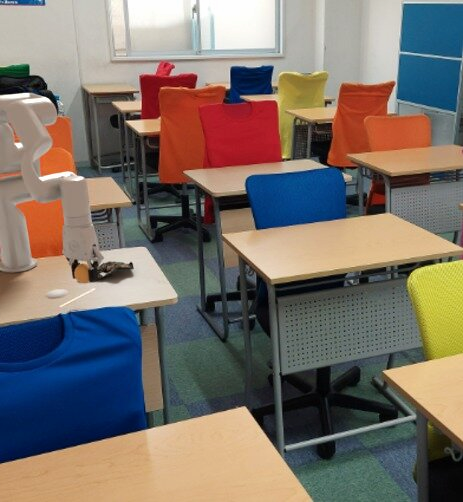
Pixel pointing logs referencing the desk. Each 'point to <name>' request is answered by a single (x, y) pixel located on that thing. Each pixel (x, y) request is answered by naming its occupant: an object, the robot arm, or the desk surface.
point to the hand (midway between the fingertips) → (85, 278)
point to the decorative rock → (112, 268)
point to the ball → (82, 273)
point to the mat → (62, 295)
